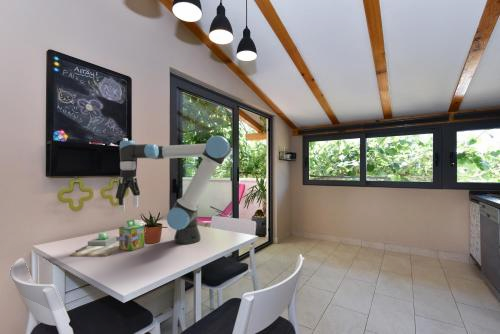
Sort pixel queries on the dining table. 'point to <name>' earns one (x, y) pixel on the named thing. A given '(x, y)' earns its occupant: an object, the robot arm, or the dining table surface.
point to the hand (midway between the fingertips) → (129, 209)
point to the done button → (102, 236)
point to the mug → (137, 222)
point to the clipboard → (95, 251)
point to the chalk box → (131, 236)
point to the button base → (102, 241)
